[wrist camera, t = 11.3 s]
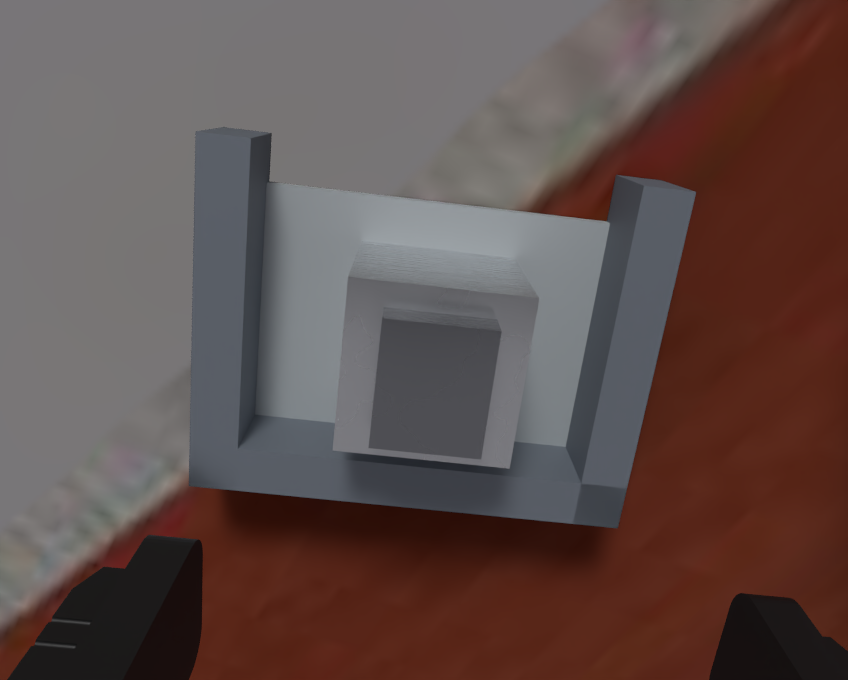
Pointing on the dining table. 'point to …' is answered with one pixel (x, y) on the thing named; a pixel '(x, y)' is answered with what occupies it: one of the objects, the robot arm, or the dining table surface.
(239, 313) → the chassis bay
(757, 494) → the dining table surface
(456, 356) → the grey recessed-face cube
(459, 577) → the dining table surface
